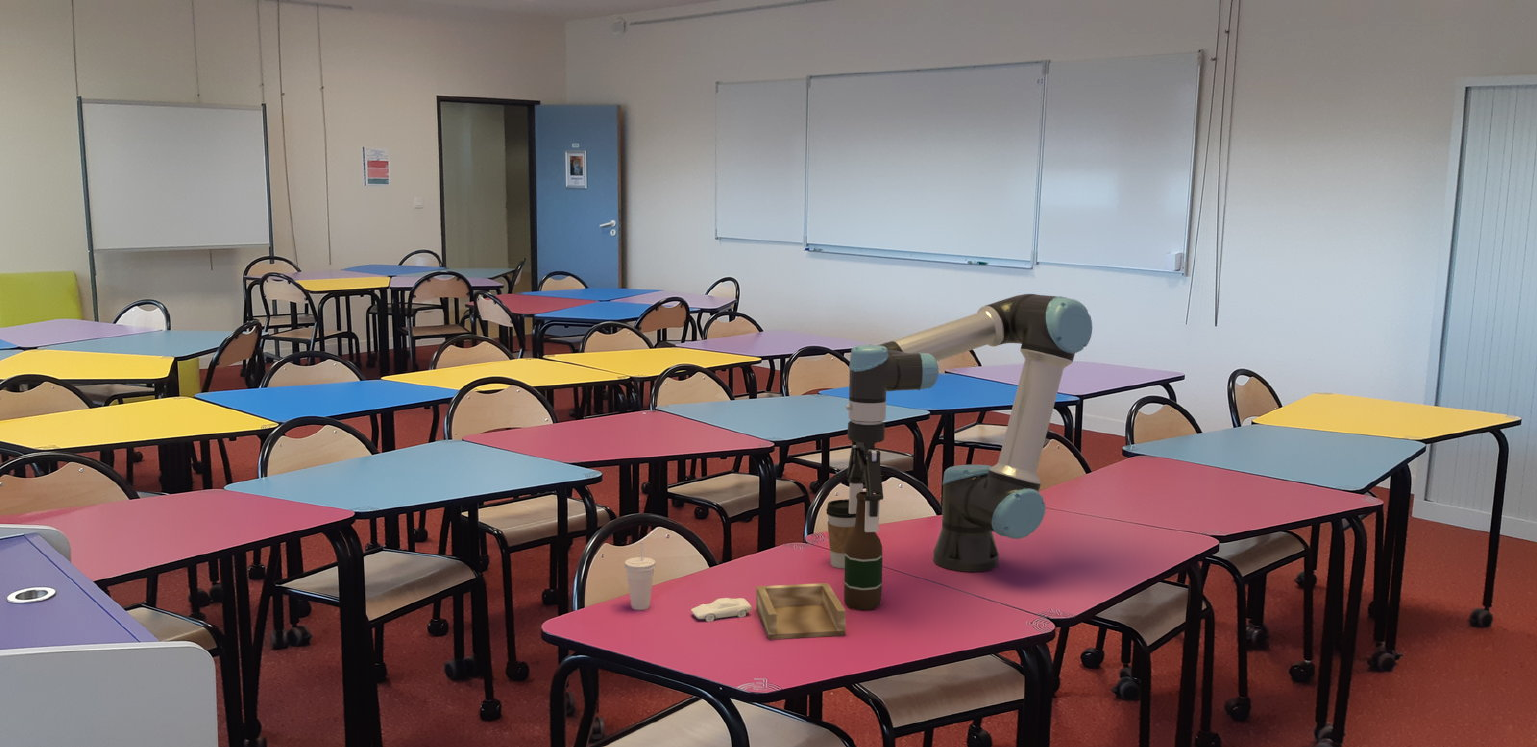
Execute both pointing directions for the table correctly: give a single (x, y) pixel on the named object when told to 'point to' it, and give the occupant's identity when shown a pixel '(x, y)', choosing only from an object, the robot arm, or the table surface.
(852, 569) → the beer bottle
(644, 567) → the smoothie
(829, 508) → the coffee cup
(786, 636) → the u rest
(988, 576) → the table surface
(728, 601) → the toy car
